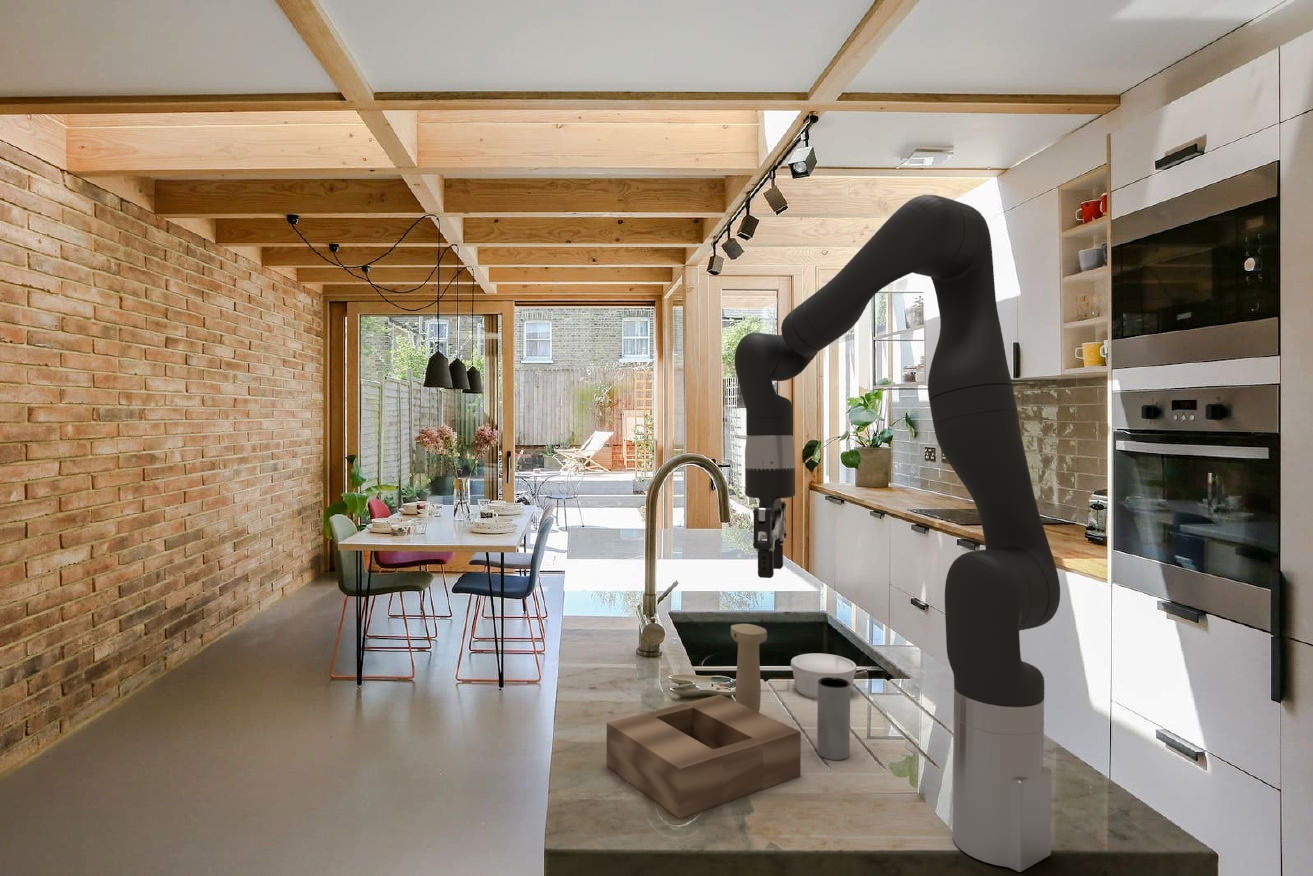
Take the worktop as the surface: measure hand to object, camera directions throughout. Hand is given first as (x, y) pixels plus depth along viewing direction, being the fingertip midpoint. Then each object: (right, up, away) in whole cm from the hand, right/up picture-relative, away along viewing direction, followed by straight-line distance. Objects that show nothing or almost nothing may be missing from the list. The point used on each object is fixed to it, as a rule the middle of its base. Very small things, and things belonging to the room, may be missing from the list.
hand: (771, 572), depth 117 cm
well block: (-11, -25, -12) cm, 30 cm away
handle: (-3, -25, +4) cm, 25 cm away
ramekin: (+12, -25, +19) cm, 34 cm away
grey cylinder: (+8, -25, -6) cm, 27 cm away
